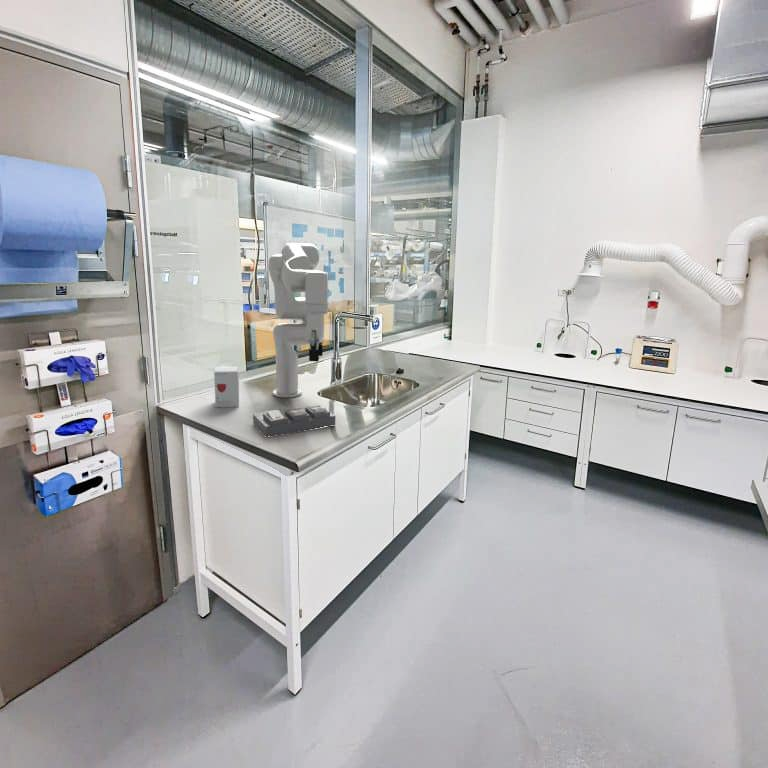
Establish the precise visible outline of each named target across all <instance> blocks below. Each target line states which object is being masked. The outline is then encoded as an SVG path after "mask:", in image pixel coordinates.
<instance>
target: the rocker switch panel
mask: <svg viewBox="0 0 768 768" xmlns="http://www.w3.org/2000/svg"><path fill="white" fill-rule="evenodd" d="M313 407H323V406H322V405H320V404H316V405H314V404H313V405H309V406H302V407H301V406H300V407H295V408H288V409H278V410H279V411H280V413H281V414H282V415H283V417H284V419H277V420H272V419H271V418H269V416H268V415H267V411H266V412H259V413H258V412H257V413H253V414H252V422H253V424H254V425H255V426H256V427H257V428H258V429H259V430H260V431H261V432H262V433H263V434H264V435H265V436H266V437H268V436H274V437H276V436H275V435H279V436H282V435H281V434H285V435H288V434H287V433H291V434H294V433H293V432H297V433H299V432H298V431H303V432H305V431H304V430H309V431H311V430H310V429H314V430H316V429H315V428H320V427H324V426H330V425H335V426H336V415H335V414H333V413H332V412H330V411H329V410H328V409H326V411H325V412H318V413H314V412H313V411H311V410H310V409H309V408H313ZM292 410H303V411H305V412H306V414H305V415H299V416H293V415H292V414H291V413H289V411H292ZM254 425H253V426H254ZM255 426H254V427H255ZM256 427H255V428H256ZM257 428H256V429H257ZM258 429H257V430H258ZM320 429H321V428H320ZM259 430H258V431H259ZM260 431H259V432H260ZM261 432H260V433H261ZM262 433H261V434H262ZM263 434H262V435H263ZM264 435H263V436H264ZM265 436H264V437H265ZM266 437H265V438H266ZM268 438H269V437H268Z"/></svg>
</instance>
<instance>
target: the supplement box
mask: <svg viewBox="0 0 768 768" xmlns="http://www.w3.org/2000/svg"><path fill="white" fill-rule="evenodd" d="M213 372H214V373H213V374H214V375H213V376H214V377H213V379H214V394H215V395H214V398H215V401H214V402H215V408H217V407H221V408H239V406H240V381H239V380H240V379H239V377H240V376H239V375H240V373H239V366H215V368H214V371H213ZM217 409H218V408H217Z"/></svg>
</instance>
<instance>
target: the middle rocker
mask: <svg viewBox="0 0 768 768" xmlns="http://www.w3.org/2000/svg"><path fill="white" fill-rule="evenodd" d="M289 413H291V414H292V415H293V416H299V415H305V414H306V412H305V411H303V410H292V411H289Z"/></svg>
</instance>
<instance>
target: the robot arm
mask: <svg viewBox="0 0 768 768" xmlns="http://www.w3.org/2000/svg"><path fill="white" fill-rule="evenodd" d="M280 253H281V254H280ZM280 253H279V254H274V255H271V256H270V257H269V259H268V272H269V276H270V279H271V281H272V283H273V284H272V285H273V288H274V305H275V315H276V317H277V319H279V320H283V321H301V322H298V323H297V322H283V323H278V324H276V325H275V326H274V327H273V331H272V334H273V336H272V337H273V341H274V347H275V351H274V352H275V380H276V381H275V384H276V385H275V389H273V391H272V395H273V396H275V397H278V398H288V399H289V398H295V397H299V396H301V395H302V390H301V389H300V388H299V356H298V352H297V351H296V350H295V349H294V348H293V346H304V345H305V346H308V345H309V350H308V361H310V362H319V360H320V357H322V356H323V355H324V353H323V352H324V351H323V350H324V349H323V348H324V347H323V340H324V336H325V334H324V333H325V315H327V314H328V300H329V299H328V295H329V294H328V293H329V292H328V290H329V289H328V287H329V285H328V284H329V283H328V282H329V281H328V280H329V278H328V277H329V276H328V274H327V273H326V272H324V271H321V270H315V269H316V267H317V266H319V265H318V264H319V262H320V252H319V249H318V247H317V246H316V245H315V244H312V243H297V242H294V243H293V242H290V243H286V244H285V245H284V246H283V247H282V249H281V252H280ZM296 293H304V297H296Z"/></svg>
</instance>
